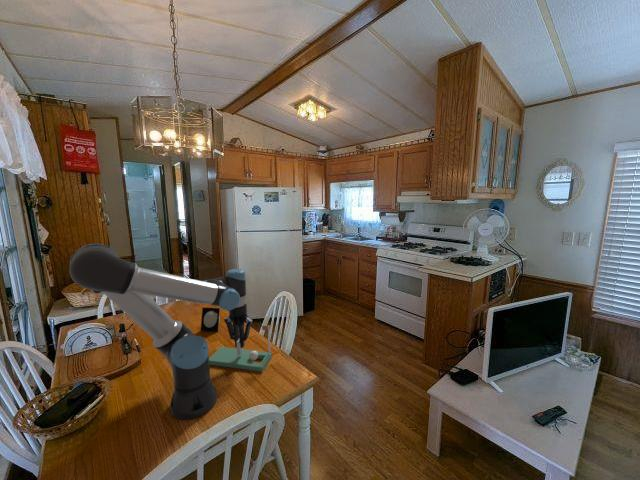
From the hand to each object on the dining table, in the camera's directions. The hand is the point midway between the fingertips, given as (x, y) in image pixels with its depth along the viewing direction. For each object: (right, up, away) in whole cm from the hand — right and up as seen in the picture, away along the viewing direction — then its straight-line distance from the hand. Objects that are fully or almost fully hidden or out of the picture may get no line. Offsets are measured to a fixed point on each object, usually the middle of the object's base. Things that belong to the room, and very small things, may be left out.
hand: (240, 353), depth 123 cm
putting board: (0, -3, +1) cm, 3 cm away
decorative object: (-24, +1, +31) cm, 39 cm away
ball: (+6, 0, -1) cm, 7 cm away
